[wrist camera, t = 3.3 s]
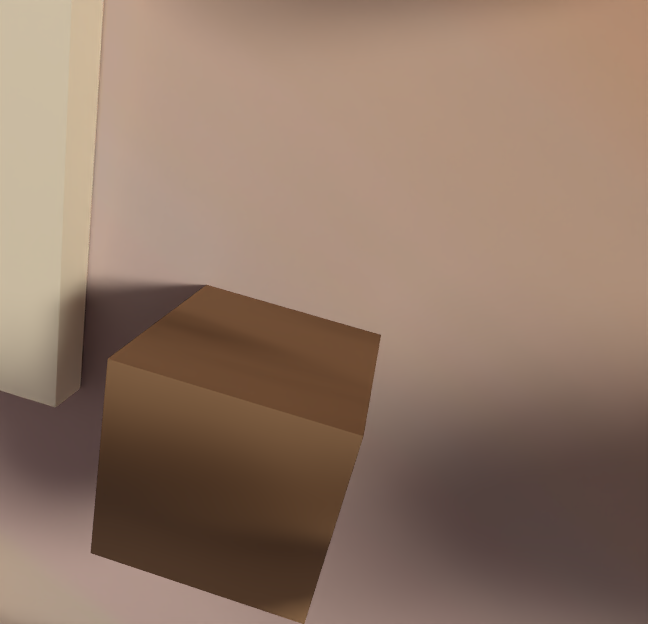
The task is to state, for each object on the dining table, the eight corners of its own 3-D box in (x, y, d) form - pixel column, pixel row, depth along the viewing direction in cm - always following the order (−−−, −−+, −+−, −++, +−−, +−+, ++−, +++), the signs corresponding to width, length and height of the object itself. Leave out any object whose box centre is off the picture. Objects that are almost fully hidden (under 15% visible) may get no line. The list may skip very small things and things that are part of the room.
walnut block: (337, 478, 16) (304, 623, 11) (184, 431, 16) (90, 553, 12) (381, 333, 14) (363, 436, 9) (207, 284, 14) (107, 359, 10)
